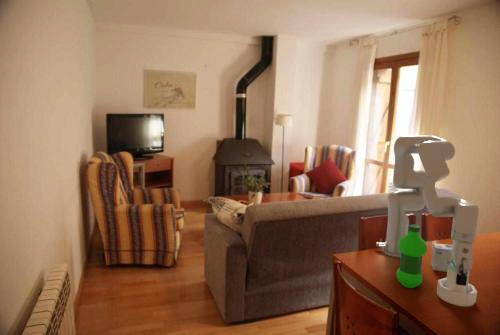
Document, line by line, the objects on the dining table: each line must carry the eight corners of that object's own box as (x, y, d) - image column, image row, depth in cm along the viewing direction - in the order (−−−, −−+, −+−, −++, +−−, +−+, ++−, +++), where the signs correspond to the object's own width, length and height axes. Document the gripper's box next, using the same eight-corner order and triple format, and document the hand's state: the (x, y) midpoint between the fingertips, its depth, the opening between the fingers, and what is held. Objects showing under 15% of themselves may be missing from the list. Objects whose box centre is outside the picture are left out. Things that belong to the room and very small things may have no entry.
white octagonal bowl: (440, 302, 126) (441, 290, 125) (434, 286, 137) (435, 275, 137) (479, 309, 122) (480, 297, 121) (469, 292, 133) (471, 281, 133)
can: (441, 292, 130) (444, 263, 128) (450, 288, 134) (454, 259, 132) (460, 301, 125) (464, 271, 123) (469, 296, 129) (473, 266, 127)
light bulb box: (456, 267, 155) (459, 245, 153) (460, 274, 149) (463, 251, 147) (430, 264, 158) (432, 242, 157) (432, 270, 152) (435, 247, 150)
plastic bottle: (390, 278, 144) (395, 221, 140) (416, 279, 143) (421, 222, 139) (400, 290, 134) (406, 230, 130) (427, 291, 133) (434, 230, 129)
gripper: (481, 245, 116) (475, 291, 119) (468, 229, 132) (463, 270, 135) (456, 242, 119) (451, 287, 122) (446, 227, 135) (442, 267, 138)
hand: (457, 278), depth 128 cm, fingers open, 9 cm apart
